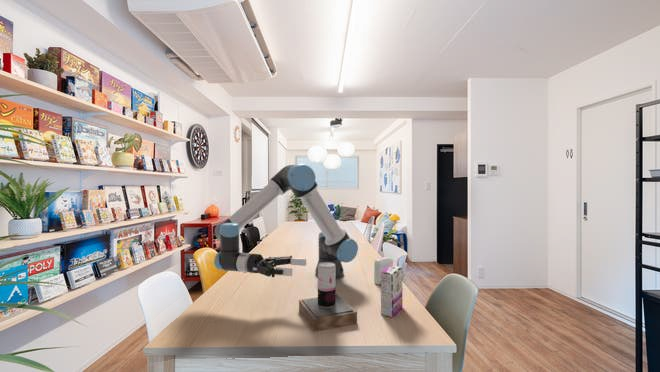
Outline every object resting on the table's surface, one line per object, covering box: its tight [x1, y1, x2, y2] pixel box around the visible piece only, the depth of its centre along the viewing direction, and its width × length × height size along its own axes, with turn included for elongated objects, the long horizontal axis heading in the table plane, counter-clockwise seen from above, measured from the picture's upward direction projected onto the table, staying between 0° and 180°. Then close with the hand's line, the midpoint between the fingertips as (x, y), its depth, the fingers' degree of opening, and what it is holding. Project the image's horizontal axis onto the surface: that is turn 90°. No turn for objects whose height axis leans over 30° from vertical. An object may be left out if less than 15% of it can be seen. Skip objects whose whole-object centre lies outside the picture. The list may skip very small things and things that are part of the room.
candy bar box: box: [380, 264, 404, 318], centre depth 121 cm, size 11×5×16 cm, turn 148°
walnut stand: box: [298, 294, 358, 332], centre depth 116 cm, size 16×18×4 cm
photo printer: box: [373, 256, 394, 285], centre depth 154 cm, size 10×4×12 cm, turn 123°
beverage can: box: [317, 262, 337, 308], centre depth 116 cm, size 6×6×15 cm
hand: (299, 267), depth 120 cm, fingers open, 13 cm apart
